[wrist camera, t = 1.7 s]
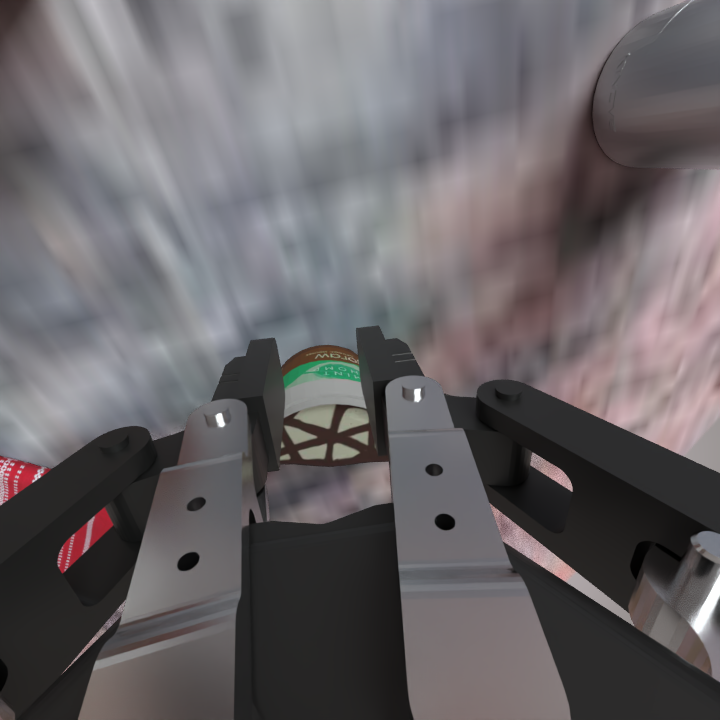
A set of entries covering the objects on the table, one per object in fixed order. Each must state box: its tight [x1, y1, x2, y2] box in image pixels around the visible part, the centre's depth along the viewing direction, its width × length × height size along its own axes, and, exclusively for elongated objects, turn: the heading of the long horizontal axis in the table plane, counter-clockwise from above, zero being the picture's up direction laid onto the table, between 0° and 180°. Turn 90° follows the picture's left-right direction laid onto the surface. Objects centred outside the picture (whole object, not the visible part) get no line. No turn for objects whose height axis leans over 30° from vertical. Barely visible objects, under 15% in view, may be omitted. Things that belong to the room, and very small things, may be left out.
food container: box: [280, 345, 389, 467], centre depth 30 cm, size 12×6×10 cm, turn 86°
